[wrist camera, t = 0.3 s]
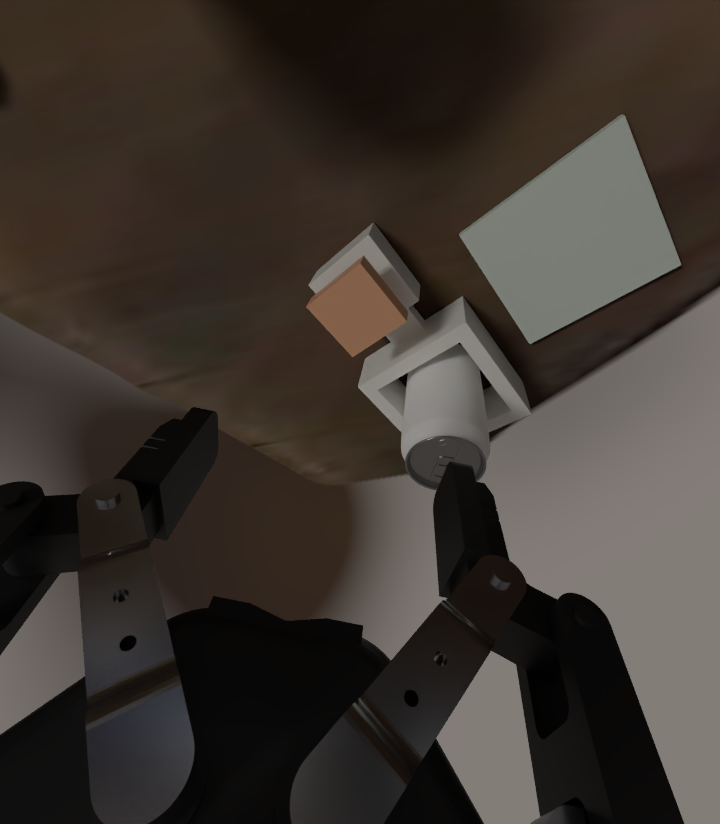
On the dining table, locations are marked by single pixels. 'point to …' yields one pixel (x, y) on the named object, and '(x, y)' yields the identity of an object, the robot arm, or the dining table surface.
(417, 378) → the can
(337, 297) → the light brown square block
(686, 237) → the dining table surface
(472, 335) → the white piece
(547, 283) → the pad
